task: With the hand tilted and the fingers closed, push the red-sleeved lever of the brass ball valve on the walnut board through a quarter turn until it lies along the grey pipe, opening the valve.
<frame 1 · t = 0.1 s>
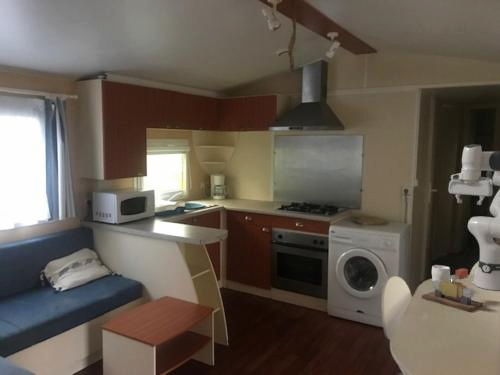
hand: (469, 203, 206), 48 cm above the table, tool pointing down, fingers open, 8 cm apart
valve: (451, 302, 198), resting on board
board: (451, 302, 199), on the table
cup: (439, 289, 221), on the table
lever: (458, 275, 201), point 13 cm above the table, hinge at 0.0°
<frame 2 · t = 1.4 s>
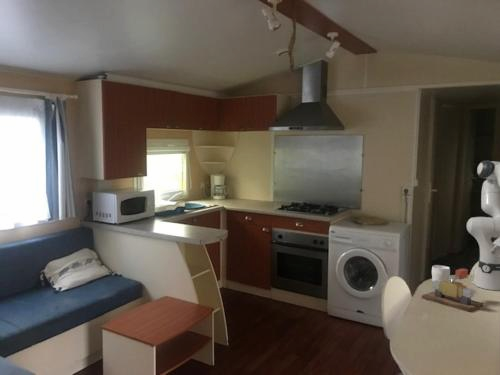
hand: (495, 255, 196), 24 cm above the table, tool tilted 45°, fingers open, 8 cm apart
nothing on the table moved.
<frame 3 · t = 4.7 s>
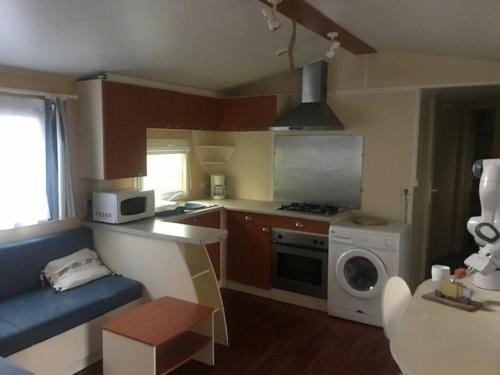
hand: (466, 275, 201), 13 cm above the table, tool tilted 45°, fingers closed
lever: (457, 275, 201), point 13 cm above the table, hinge at 3.3°, touching gripper
everything else where it was.
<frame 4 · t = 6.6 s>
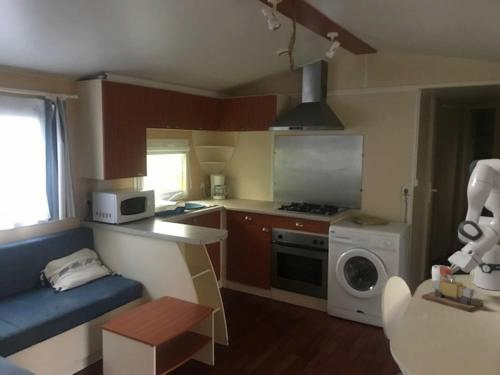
hand: (449, 272, 206), 13 cm above the table, tool tilted 45°, fingers closed, pressing on lever
lever: (448, 274, 203), point 13 cm above the table, hinge at 48.1°, touching gripper
everything else where it was.
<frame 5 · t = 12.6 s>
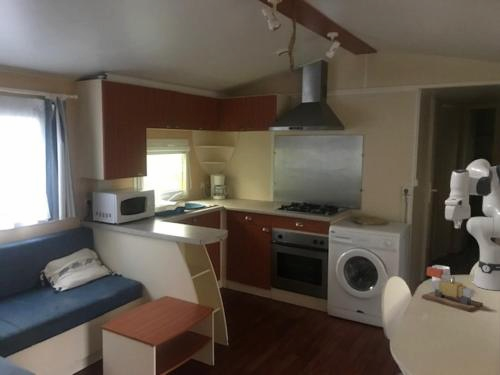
hand: (457, 228, 208), 35 cm above the table, tool pointing down, fingers closed
lever: (441, 274, 202), point 13 cm above the table, hinge at 91.1°
everything else where it was.
at the end: lever at +91° (first picture: +0°); cup moved 0.2 cm from its start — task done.
